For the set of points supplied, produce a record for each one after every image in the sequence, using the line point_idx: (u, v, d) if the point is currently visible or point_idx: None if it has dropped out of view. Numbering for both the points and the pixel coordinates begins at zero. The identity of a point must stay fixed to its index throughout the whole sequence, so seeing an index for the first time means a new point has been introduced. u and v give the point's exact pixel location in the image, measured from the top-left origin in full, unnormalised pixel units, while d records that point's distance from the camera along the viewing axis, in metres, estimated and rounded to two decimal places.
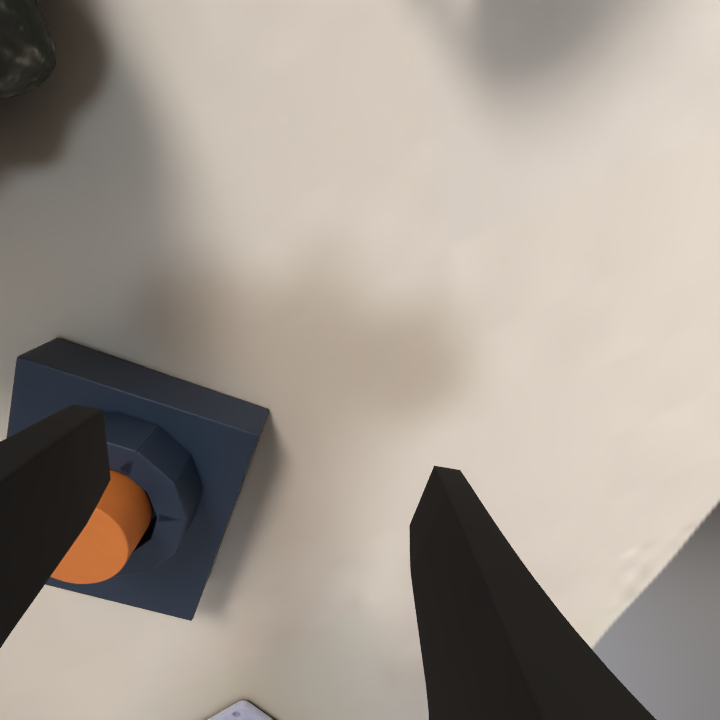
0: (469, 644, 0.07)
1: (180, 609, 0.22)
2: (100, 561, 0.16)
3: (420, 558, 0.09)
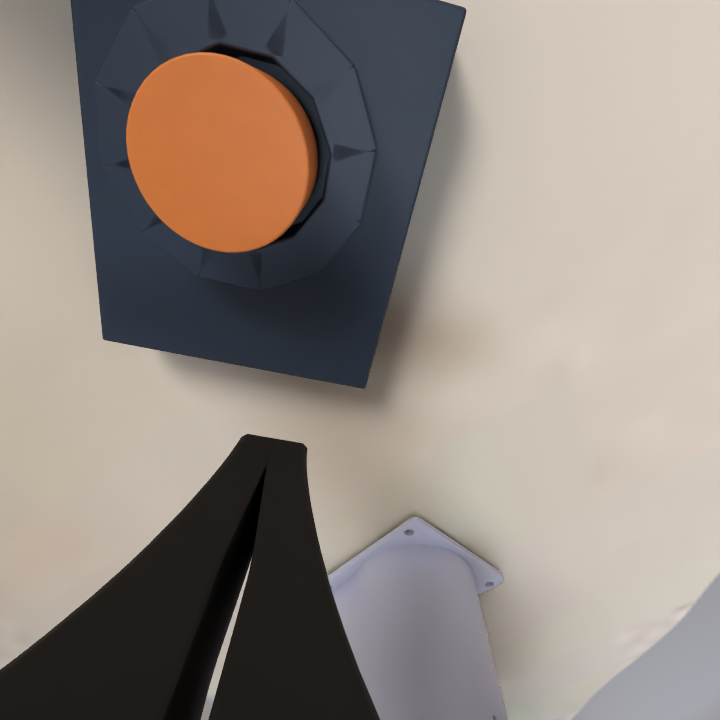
0: None
1: (349, 372, 0.16)
2: (266, 196, 0.10)
3: None
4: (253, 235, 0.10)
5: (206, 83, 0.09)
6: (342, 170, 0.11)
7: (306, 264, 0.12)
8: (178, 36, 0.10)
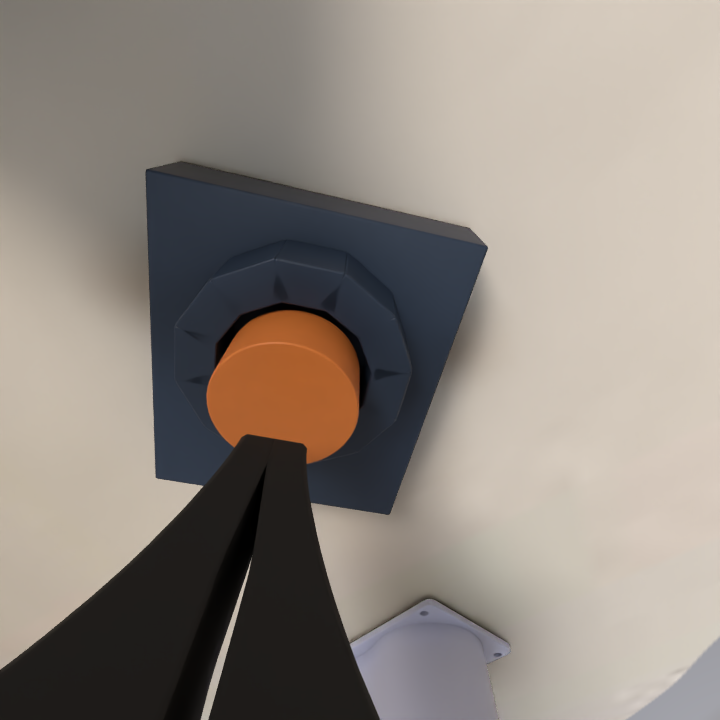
0: None
1: (376, 502, 0.18)
2: (321, 431, 0.11)
3: None
4: (308, 455, 0.12)
5: (277, 361, 0.10)
6: (381, 385, 0.13)
7: (346, 448, 0.14)
8: (247, 298, 0.11)
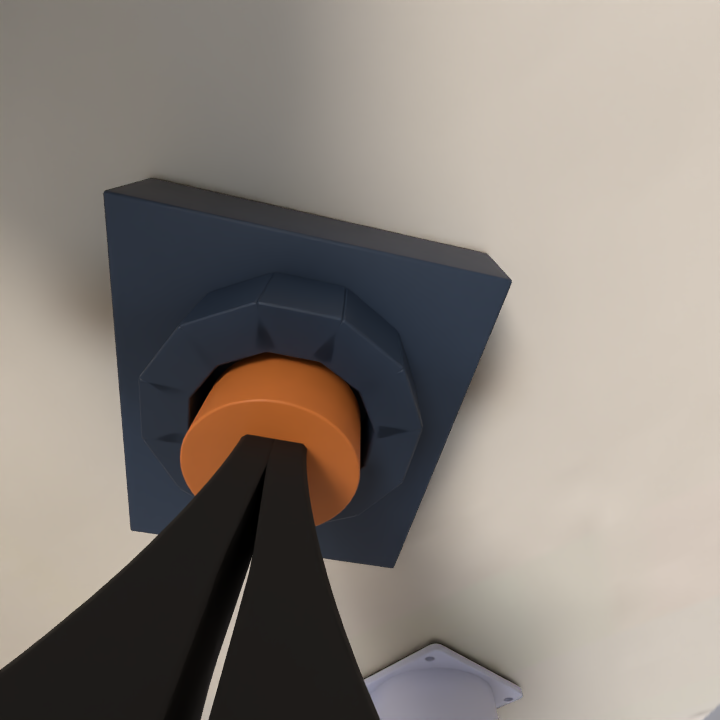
0: None
1: (379, 556, 0.16)
2: (315, 496, 0.10)
3: None
4: None
5: (262, 421, 0.09)
6: (386, 443, 0.11)
7: (345, 510, 0.12)
8: (225, 347, 0.09)
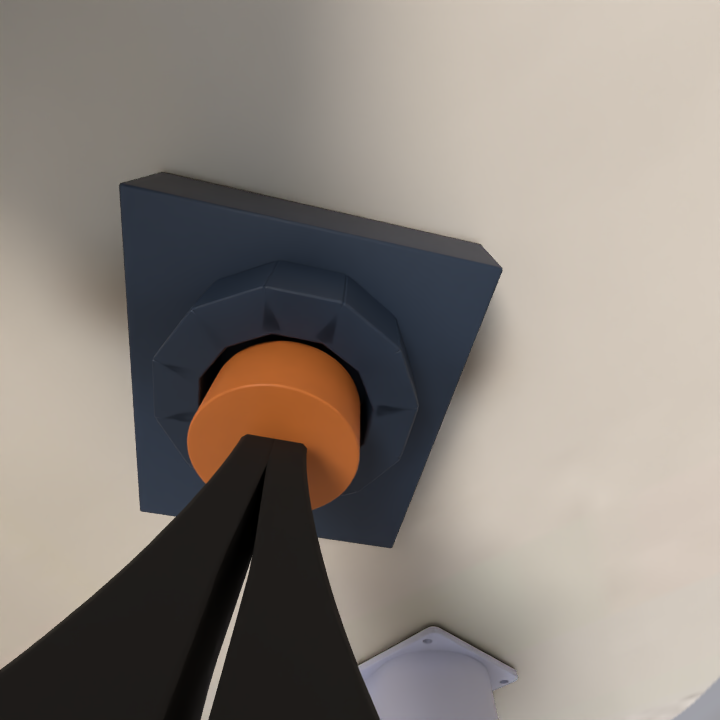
0: None
1: (378, 536, 0.17)
2: (317, 478, 0.10)
3: (256, 534, 0.09)
4: None
5: (266, 405, 0.09)
6: (384, 422, 0.11)
7: None
8: (233, 329, 0.10)
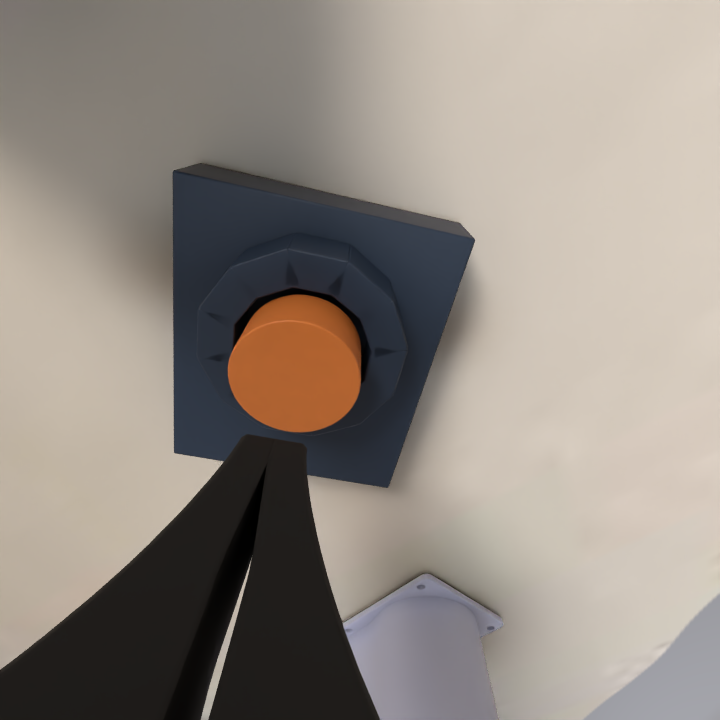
0: None
1: (376, 476, 0.20)
2: (327, 400, 0.13)
3: (256, 534, 0.09)
4: (316, 422, 0.13)
5: (290, 337, 0.12)
6: (380, 362, 0.14)
7: (349, 420, 0.15)
8: (263, 283, 0.13)
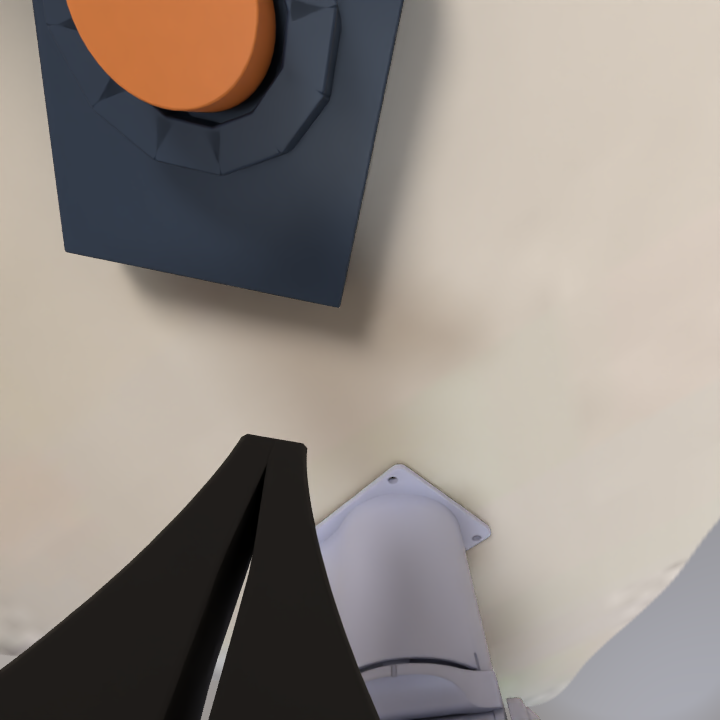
0: None
1: (323, 288, 0.16)
2: (213, 40, 0.09)
3: None
4: (202, 88, 0.09)
5: None
6: (301, 31, 0.10)
7: (267, 145, 0.11)
8: None
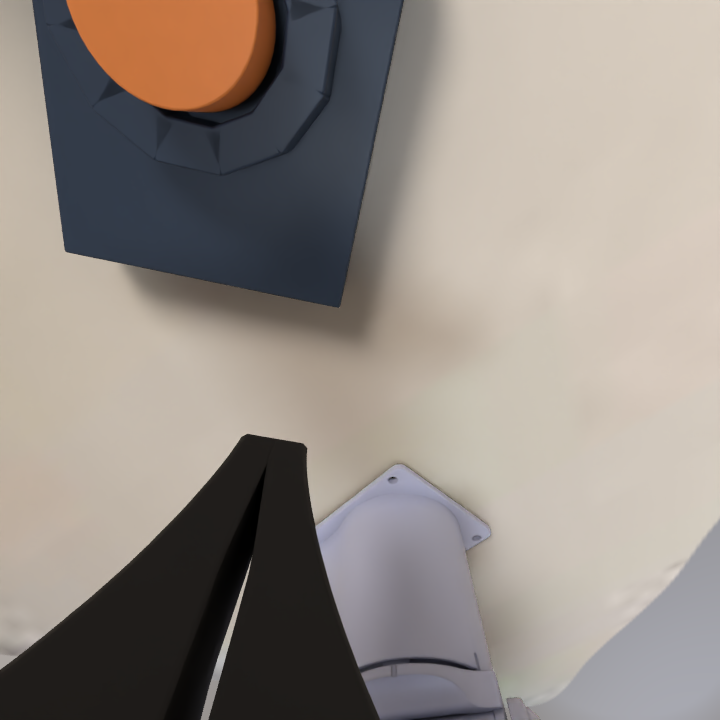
0: None
1: (323, 288, 0.16)
2: (213, 40, 0.09)
3: None
4: (202, 88, 0.09)
5: None
6: (301, 31, 0.10)
7: (267, 145, 0.11)
8: None
